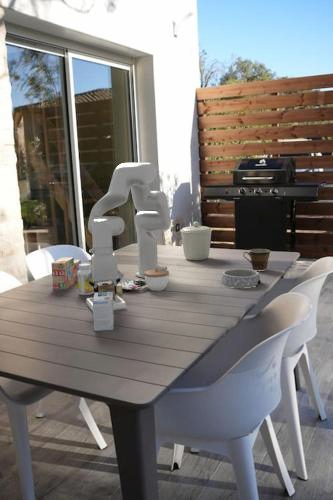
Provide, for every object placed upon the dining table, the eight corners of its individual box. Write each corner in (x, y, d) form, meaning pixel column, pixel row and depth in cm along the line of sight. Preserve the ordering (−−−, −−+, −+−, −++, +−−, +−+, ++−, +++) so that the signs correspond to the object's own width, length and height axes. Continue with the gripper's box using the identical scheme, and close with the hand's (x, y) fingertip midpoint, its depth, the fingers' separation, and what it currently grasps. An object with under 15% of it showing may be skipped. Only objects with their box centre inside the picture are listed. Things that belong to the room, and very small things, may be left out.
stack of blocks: (70, 278, 250) (68, 253, 248) (82, 278, 249) (80, 253, 247) (53, 289, 229) (51, 262, 227) (66, 289, 228) (64, 262, 226)
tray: (117, 300, 207) (117, 294, 207) (125, 308, 196) (125, 302, 195) (86, 304, 203) (86, 298, 203) (93, 313, 192) (93, 306, 191)
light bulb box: (95, 321, 182) (93, 292, 180) (114, 320, 183) (112, 291, 181) (93, 331, 172) (92, 300, 170) (113, 330, 172) (112, 299, 170)
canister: (191, 254, 298) (191, 219, 294) (218, 257, 288) (218, 220, 284) (174, 260, 284) (173, 222, 280) (201, 263, 273) (201, 224, 269)
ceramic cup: (268, 268, 257) (268, 248, 255) (270, 272, 247) (270, 252, 246) (242, 268, 259) (242, 248, 257) (243, 272, 249) (243, 252, 247)
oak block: (117, 294, 217) (116, 280, 216) (122, 299, 210) (121, 285, 209) (99, 296, 215) (98, 283, 213) (103, 301, 207) (102, 287, 206)
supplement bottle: (96, 292, 222) (95, 263, 219) (89, 296, 215) (88, 266, 213) (83, 291, 224) (81, 262, 222) (75, 295, 218) (73, 265, 215)
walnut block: (111, 296, 203) (110, 281, 202) (115, 299, 197) (114, 284, 196) (96, 298, 201) (95, 283, 200) (99, 301, 195) (99, 286, 194)
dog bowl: (264, 280, 233) (264, 269, 232) (253, 290, 217) (253, 278, 216) (228, 278, 240) (228, 267, 239) (215, 287, 224) (215, 275, 223)
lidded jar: (151, 293, 216) (150, 272, 215) (141, 288, 226) (140, 267, 224) (173, 289, 221) (173, 268, 219) (162, 284, 230) (161, 264, 229)
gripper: (82, 254, 189) (85, 301, 192) (127, 250, 195) (129, 296, 198) (78, 251, 196) (81, 296, 199) (122, 247, 202) (124, 291, 205)
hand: (105, 295), depth 199 cm, fingers closed on walnut block, 6 cm apart
